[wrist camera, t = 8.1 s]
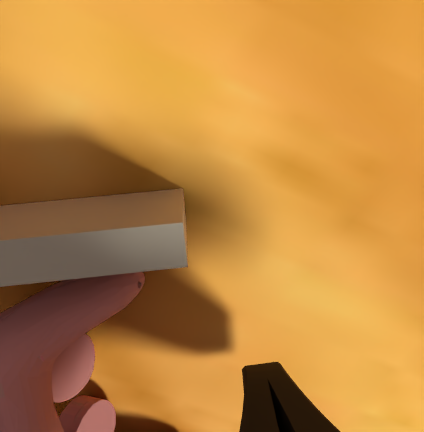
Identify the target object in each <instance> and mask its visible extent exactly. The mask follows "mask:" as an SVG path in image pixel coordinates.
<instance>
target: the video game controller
mask: <svg viewBox="0 0 424 432" xmlns="http://www.w3.org/2000/svg"><path fill="white" fill-rule="evenodd" d="M144 282H145V275H144V273H143V272H135V273H126V274H116V275H107V276H98V277H88V278H79V279H69V280H63V281H61V282H59V283H56V284H54V285H52V286H49V287H47V288H46V289H44V290H42V291H40V292H38V293H36V294H35V295H33V296H31V297H29V298H27V299H25V300H24V301H22V302H20V303H18V304H16V305H14V306H13V307H11V308H9V309H7V310H5V311H3V312H2V313H0V432H114V429H115V424H116V413H115V409H114V407H113V405H112V404H111V403H110V402H109V401H108V400H104V399H100V398H95V397H91V396H86V395H81V396H78V397H76V398H74V399H73V400H72V401H71V402H70V403H69V404H68V405H67V406H66V407H65V409H64V410H63V411H62V413H61V415H60V417H58V414H57V412H56V409H55V406H54V402H59V403H60V402H63V401H66V400H69V399H71V398H73V397H74V396H76V395H77V394H78V393H79V392H80V391H81V390H82V389H83V388H84V386H85V385H86V384H87V383H88V381H89V379H90V377H91V375H92V372H93V368H94V361H95V352H94V345H93V343H92V340H91V338H90V337H89V336H88V335H86V334H85V333H86V332H88V331H90V330H91V329H93V328H94V327H96V326H97V325H99V324H100V323H102V322H104V321H105V320H107V319H108V318H110V317H111V316H113V315H115V314H116V313H118V312H119V311H121V310H122V309H124V308H125V307H126V306H127V305H128V304H129V303H130V302H131V301H132V300H133V299H134V298H135V297H136V296H137V295H138V293H139V292H140V290H141V289H142V287H143V284H144Z"/></svg>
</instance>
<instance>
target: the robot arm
mask: <svg viewBox="0 0 424 432" xmlns="http://www.w3.org/2000/svg"><path fill="white" fill-rule="evenodd" d="M242 374H243V386H244V402H243V412H242V419H241V425H240V431H239V432H340V431H339V430H338V429H337V428H336V427H335V426H334V425H333V424H332V423H331V422H330V421H329V420H328V419H327V418H326V417H325V416H324V415H323V414H322V413H321V412H320V411H319V410H318V409H317V408H316V407H315V406H314V405H313V404H312V402H311V401H310V400H309V399H308V398H307V397H306V396H305V395H304V393H303V392H302V391H301V390H300V389H299V388H298V386H297V385H296V384H295V383H294V381H293V380H292V379H291V378H290V376H289V375H288V374H287V372H286V371H285V370H284V368H283V367H282V365H281V364H280V363H279V362H272V363H264V364H257V365H249V366H245V367H244V368H243V369H242Z"/></svg>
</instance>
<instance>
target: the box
mask: <svg viewBox="0 0 424 432" xmlns="http://www.w3.org/2000/svg"><path fill="white" fill-rule="evenodd" d="M182 267H188V261H187V226H186V213H185V203H184V194H183V188H181V189H170V190H160V191H149V192H139V193H128V194H117V195H107V196H96V197H86V198H75V199H65V200H54V201H44V202H33V203H22V204H12V205H1V206H0V287H4V286H13V285H22V284H32V283H41V282H51V281H60V280H69V279H79V278H88V277H98V276H107V275H116V274H126V273H135V272H145V271H154V270H163V269H173V268H182Z"/></svg>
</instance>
